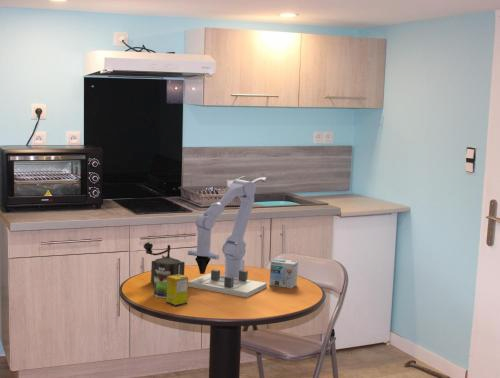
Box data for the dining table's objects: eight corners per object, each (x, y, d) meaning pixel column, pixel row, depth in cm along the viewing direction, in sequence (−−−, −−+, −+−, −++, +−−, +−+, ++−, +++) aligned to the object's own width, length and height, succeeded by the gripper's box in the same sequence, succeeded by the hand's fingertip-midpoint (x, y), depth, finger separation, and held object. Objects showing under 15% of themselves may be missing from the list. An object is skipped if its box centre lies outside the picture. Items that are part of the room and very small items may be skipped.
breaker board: (209, 277, 320) (210, 272, 319) (266, 287, 307) (266, 282, 307) (187, 286, 303) (187, 281, 302) (246, 297, 290) (246, 292, 290)
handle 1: (226, 285, 299) (227, 275, 298) (233, 286, 298) (233, 277, 297) (224, 286, 297) (224, 277, 296) (230, 287, 295) (231, 278, 295)
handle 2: (241, 279, 310) (241, 270, 310) (247, 280, 309) (247, 271, 309) (238, 280, 308) (239, 271, 308) (244, 281, 307) (245, 272, 307)
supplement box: (178, 300, 281) (179, 273, 279) (187, 304, 276) (188, 277, 275) (165, 303, 277) (166, 275, 275) (175, 307, 272) (176, 279, 271)
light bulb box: (268, 285, 312) (270, 260, 311) (274, 281, 318) (275, 258, 317) (292, 288, 308) (293, 264, 307) (297, 285, 314) (298, 261, 313)
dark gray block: (213, 278, 309) (214, 269, 309) (219, 279, 308) (220, 270, 307) (210, 279, 307) (211, 270, 306) (216, 280, 306) (217, 271, 305)
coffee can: (172, 300, 281) (173, 264, 280) (148, 296, 285) (149, 261, 283) (183, 293, 291) (184, 259, 289) (160, 290, 294) (161, 256, 293)
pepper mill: (166, 278, 315) (168, 237, 312) (184, 283, 308) (186, 242, 305) (140, 284, 303) (141, 242, 300) (158, 289, 296) (159, 246, 294)
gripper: (184, 241, 308) (183, 272, 309) (213, 246, 302) (212, 277, 303) (193, 239, 314) (191, 269, 316) (222, 243, 308) (220, 274, 309)
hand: (202, 273), depth 310 cm, fingers closed
